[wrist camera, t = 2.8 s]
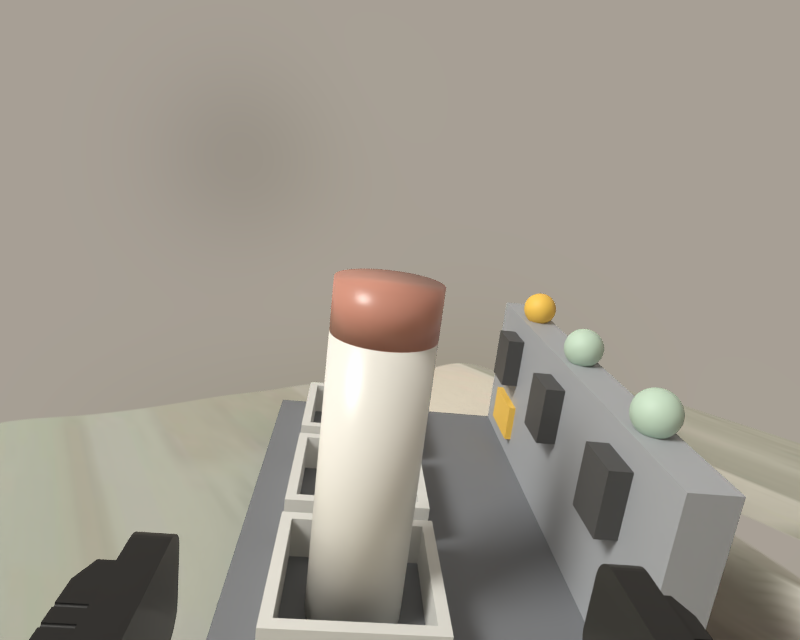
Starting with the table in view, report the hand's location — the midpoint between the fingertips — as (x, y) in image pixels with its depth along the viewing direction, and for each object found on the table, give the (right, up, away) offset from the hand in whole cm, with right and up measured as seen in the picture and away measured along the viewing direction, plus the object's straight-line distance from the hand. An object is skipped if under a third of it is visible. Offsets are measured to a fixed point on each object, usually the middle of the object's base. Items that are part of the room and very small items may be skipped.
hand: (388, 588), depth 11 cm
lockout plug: (-2, -7, +14) cm, 15 cm away
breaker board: (+1, -6, +22) cm, 23 cm away
